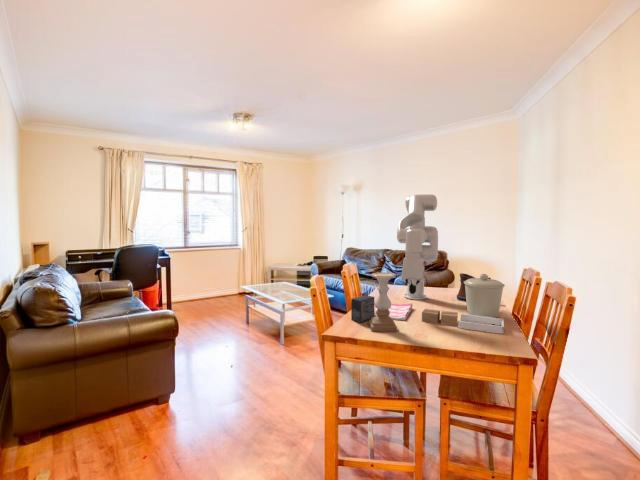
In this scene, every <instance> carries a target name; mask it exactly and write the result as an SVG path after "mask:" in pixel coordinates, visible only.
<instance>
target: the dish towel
mask: <svg viewBox="0 0 640 480" xmlns="http://www.w3.org/2000/svg"><path fill="white" fill-rule="evenodd" d="M376 310H377V308H376V307H375V308H374V315H375V316H377V314H376ZM388 310H389V311H390V314H389V315H388V316H389V317H391V318H392V319H393V320H394V321H406V319H407V318H408V316H409V314H410V313H411V312H412V311H413V303H407V304H406V303H405V304H404V303H401V304H398V303H392V302H391V307H390V308H389V309H388Z"/></svg>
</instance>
